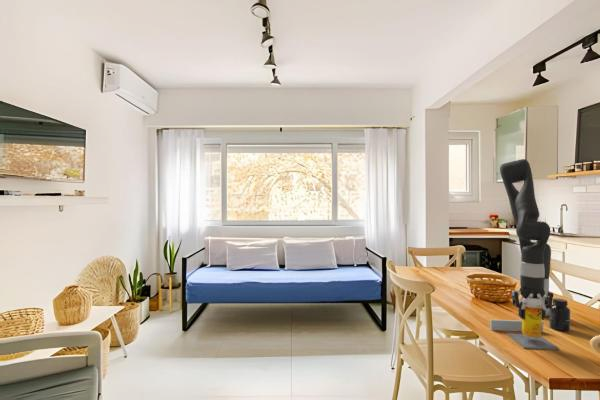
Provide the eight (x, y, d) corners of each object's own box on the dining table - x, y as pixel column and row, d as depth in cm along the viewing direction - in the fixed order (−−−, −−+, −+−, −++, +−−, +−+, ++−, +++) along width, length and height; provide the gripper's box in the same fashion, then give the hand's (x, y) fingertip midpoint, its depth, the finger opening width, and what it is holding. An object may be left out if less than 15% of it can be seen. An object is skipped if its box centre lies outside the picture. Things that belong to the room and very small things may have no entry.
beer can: (535, 340, 125) (536, 300, 124) (518, 334, 130) (518, 295, 130) (544, 337, 127) (545, 297, 127) (527, 331, 133) (528, 293, 133)
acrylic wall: (541, 331, 139) (541, 321, 139) (543, 332, 138) (543, 322, 138) (490, 329, 141) (490, 319, 141) (491, 330, 140) (491, 320, 140)
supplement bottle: (571, 333, 137) (571, 303, 137) (550, 329, 141) (550, 300, 140) (568, 327, 143) (569, 299, 143) (548, 324, 146) (549, 296, 146)
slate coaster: (539, 336, 134) (539, 334, 134) (559, 350, 122) (559, 348, 122) (507, 334, 135) (507, 333, 135) (523, 348, 123) (523, 346, 123)
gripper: (546, 272, 131) (545, 316, 132) (507, 271, 133) (506, 314, 133) (559, 277, 124) (558, 323, 124) (517, 276, 125) (516, 321, 126)
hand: (531, 318), depth 129 cm, fingers closed on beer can, 6 cm apart
